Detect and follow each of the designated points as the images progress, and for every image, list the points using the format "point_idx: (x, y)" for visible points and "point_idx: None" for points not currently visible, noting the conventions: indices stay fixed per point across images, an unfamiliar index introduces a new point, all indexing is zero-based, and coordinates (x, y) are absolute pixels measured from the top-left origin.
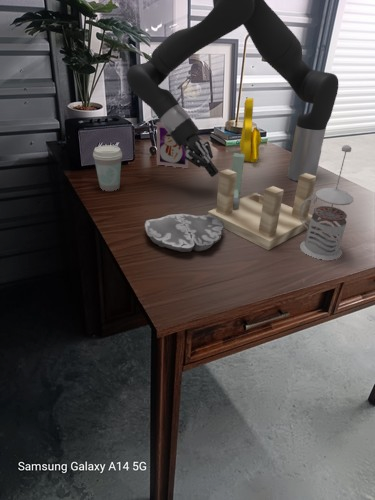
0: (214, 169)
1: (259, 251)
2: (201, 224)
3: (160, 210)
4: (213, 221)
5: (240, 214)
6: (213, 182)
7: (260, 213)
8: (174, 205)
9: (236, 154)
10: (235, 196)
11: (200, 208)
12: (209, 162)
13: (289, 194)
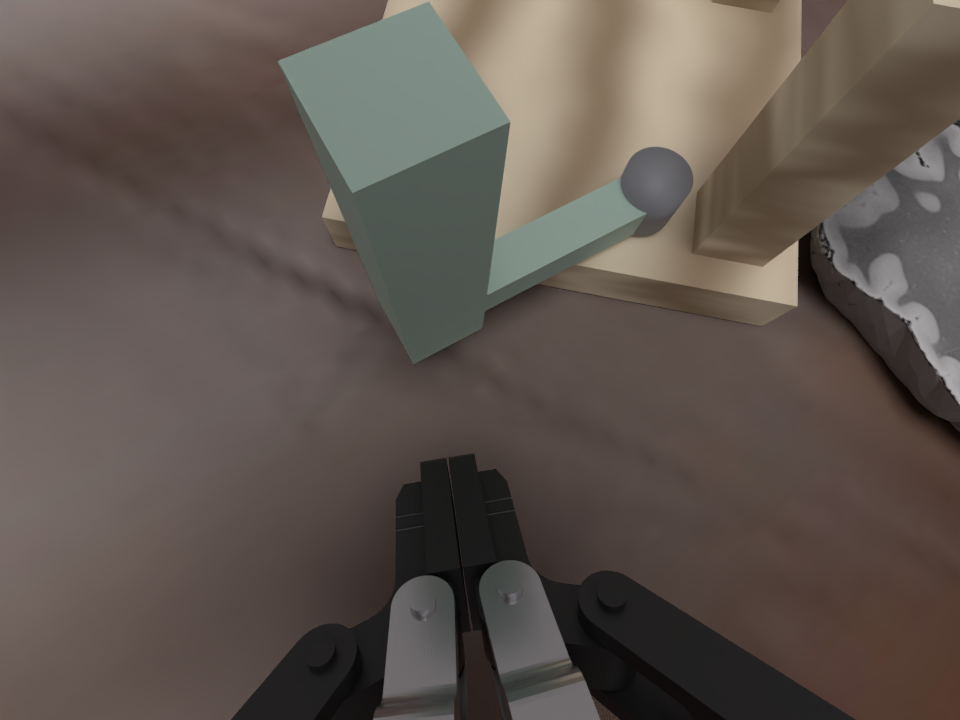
0: (474, 483)
1: (806, 20)
2: (955, 241)
3: (902, 640)
4: (873, 212)
5: (682, 147)
6: (194, 658)
7: (588, 76)
8: (772, 616)
9: (393, 127)
10: (579, 218)
11: (674, 444)
12: (499, 562)
13: (107, 128)
